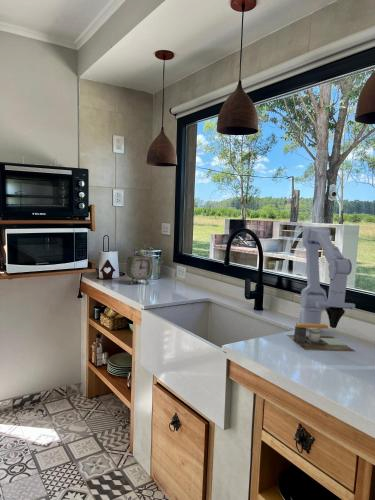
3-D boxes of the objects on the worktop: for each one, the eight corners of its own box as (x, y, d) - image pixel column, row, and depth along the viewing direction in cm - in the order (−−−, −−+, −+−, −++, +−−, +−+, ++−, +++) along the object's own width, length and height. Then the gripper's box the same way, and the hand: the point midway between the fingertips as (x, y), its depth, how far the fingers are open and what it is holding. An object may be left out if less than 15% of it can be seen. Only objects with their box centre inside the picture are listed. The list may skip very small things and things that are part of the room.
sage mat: (319, 338, 141) (319, 337, 141) (336, 339, 142) (336, 338, 142) (329, 345, 134) (329, 344, 134) (347, 345, 135) (347, 344, 135)
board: (286, 337, 143) (288, 321, 142) (331, 338, 145) (333, 322, 145) (304, 352, 127) (306, 334, 126) (355, 354, 130) (357, 336, 129)
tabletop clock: (129, 285, 220) (131, 243, 217) (124, 282, 227) (126, 242, 225) (151, 284, 227) (154, 244, 224) (145, 282, 235) (148, 243, 232)
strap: (295, 325, 135) (296, 323, 135) (324, 326, 137) (325, 324, 137) (298, 327, 133) (298, 324, 133) (327, 328, 135) (328, 325, 135)
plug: (305, 340, 137) (306, 327, 137) (315, 340, 138) (317, 327, 138) (310, 344, 133) (312, 330, 133) (321, 344, 134) (322, 331, 134)
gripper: (324, 292, 130) (320, 330, 131) (361, 294, 132) (357, 331, 133) (314, 288, 137) (310, 324, 138) (350, 290, 139) (346, 325, 140)
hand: (332, 327), depth 136 cm, fingers closed
